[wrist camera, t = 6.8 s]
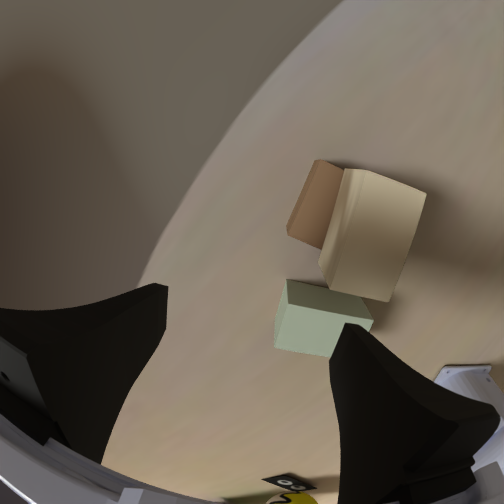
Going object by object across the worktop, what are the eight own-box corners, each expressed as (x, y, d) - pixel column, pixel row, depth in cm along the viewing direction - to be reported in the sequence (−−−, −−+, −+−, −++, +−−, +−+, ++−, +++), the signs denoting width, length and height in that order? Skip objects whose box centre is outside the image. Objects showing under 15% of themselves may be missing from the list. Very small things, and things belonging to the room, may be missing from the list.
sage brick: (359, 294, 21) (373, 320, 17) (344, 331, 22) (354, 360, 18) (286, 278, 21) (288, 303, 17) (275, 317, 22) (274, 347, 18)
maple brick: (344, 168, 15) (366, 170, 11) (395, 186, 15) (426, 193, 11) (317, 262, 17) (329, 289, 13) (366, 274, 17) (388, 302, 13)
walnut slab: (397, 203, 18) (415, 209, 16) (368, 261, 20) (381, 276, 17) (314, 160, 18) (321, 159, 15) (286, 225, 20) (287, 235, 17)
